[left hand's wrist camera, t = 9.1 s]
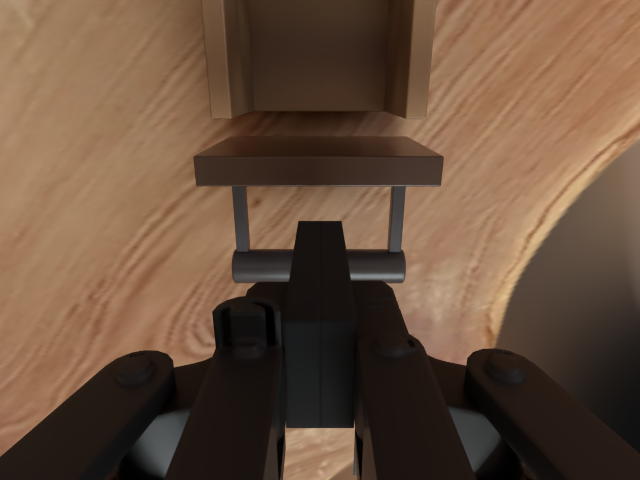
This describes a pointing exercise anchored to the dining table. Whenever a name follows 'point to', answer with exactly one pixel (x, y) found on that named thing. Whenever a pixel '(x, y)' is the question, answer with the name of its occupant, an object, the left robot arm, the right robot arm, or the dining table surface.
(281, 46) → the drawer
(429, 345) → the dining table surface
